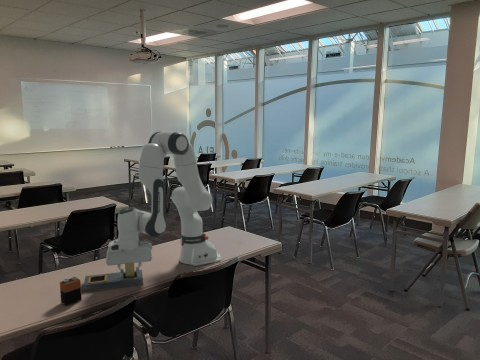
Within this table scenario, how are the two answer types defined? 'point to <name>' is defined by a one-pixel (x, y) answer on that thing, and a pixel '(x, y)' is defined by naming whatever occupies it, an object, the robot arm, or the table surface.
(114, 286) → the grey socket board
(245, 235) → the table surface
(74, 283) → the battery
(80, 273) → the table surface
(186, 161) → the robot arm
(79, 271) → the table surface
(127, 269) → the brass block
